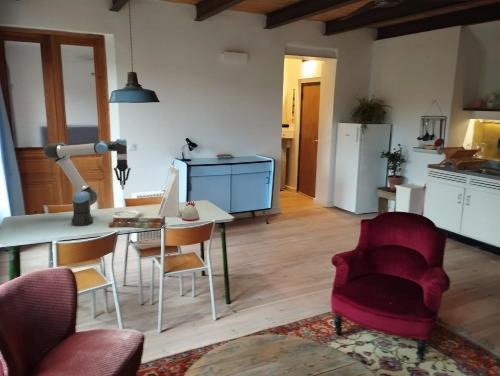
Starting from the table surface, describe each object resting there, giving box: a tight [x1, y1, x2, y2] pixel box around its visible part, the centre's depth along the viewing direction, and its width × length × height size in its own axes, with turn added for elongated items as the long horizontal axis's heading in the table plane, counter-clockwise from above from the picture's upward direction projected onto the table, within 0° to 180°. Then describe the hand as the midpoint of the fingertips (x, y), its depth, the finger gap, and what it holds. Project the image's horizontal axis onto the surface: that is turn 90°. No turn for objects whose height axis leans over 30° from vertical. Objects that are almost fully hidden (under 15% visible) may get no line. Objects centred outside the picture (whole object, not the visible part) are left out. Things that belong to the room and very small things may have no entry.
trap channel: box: [107, 216, 166, 229], centre depth 307 cm, size 39×14×5 cm, turn 94°
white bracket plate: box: [156, 165, 180, 218], centre depth 334 cm, size 20×14×40 cm
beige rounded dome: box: [181, 200, 200, 222], centre depth 327 cm, size 14×14×15 cm
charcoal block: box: [138, 219, 149, 223], centre depth 308 cm, size 7×7×4 cm
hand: (122, 189), depth 317 cm, fingers closed
